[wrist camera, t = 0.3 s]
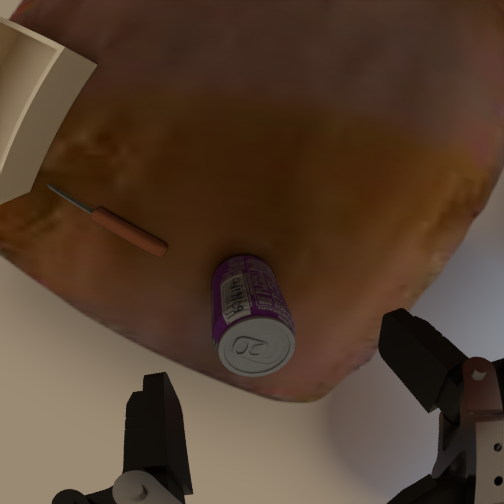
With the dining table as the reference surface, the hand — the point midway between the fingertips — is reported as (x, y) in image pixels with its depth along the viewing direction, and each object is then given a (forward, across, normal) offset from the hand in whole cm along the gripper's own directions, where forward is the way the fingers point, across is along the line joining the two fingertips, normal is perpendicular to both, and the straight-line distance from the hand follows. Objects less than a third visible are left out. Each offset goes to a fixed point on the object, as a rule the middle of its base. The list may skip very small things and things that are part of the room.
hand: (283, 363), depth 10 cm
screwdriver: (+25, +11, -1) cm, 27 cm away
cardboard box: (+26, +20, -17) cm, 37 cm away
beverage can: (+23, -2, +9) cm, 25 cm away
